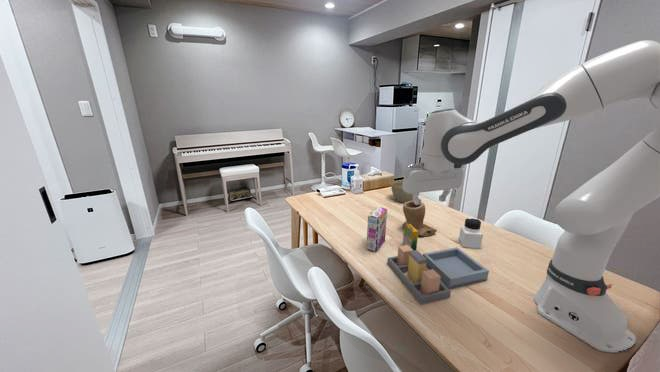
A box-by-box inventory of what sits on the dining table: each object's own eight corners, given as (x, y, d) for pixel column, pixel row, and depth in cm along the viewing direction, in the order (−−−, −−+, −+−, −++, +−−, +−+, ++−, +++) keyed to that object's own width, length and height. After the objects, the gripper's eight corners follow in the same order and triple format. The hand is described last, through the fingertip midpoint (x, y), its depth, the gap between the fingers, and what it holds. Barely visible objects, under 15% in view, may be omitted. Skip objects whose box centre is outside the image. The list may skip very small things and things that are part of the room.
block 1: (411, 268, 102) (413, 250, 100) (402, 269, 101) (403, 251, 99) (405, 262, 106) (407, 244, 103) (397, 263, 105) (398, 246, 102)
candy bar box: (376, 253, 113) (378, 218, 107) (366, 249, 115) (367, 215, 110) (385, 241, 122) (387, 208, 116) (375, 238, 124) (377, 206, 119)
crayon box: (416, 251, 113) (419, 227, 109) (410, 252, 112) (412, 228, 109) (408, 242, 120) (410, 219, 116) (402, 243, 119) (404, 220, 115)
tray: (487, 280, 95) (489, 270, 94) (449, 288, 91) (450, 279, 90) (455, 255, 110) (457, 247, 108) (422, 262, 106) (423, 253, 104)
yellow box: (424, 283, 94) (426, 259, 91) (416, 284, 93) (419, 260, 90) (414, 273, 100) (417, 250, 96) (407, 274, 99) (409, 251, 96)
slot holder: (449, 297, 87) (450, 291, 87) (420, 304, 85) (421, 298, 84) (411, 258, 108) (412, 253, 108) (387, 263, 106) (387, 257, 105)
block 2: (437, 296, 88) (440, 276, 85) (427, 299, 87) (429, 278, 84) (430, 288, 91) (433, 269, 89) (420, 290, 90) (422, 271, 88)
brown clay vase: (395, 228, 133) (397, 200, 128) (412, 222, 139) (414, 195, 134) (420, 241, 121) (423, 211, 116) (437, 234, 127) (440, 205, 122)
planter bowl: (400, 193, 179) (401, 178, 175) (421, 200, 167) (423, 184, 163) (385, 199, 169) (385, 183, 166) (406, 207, 157) (407, 190, 154)
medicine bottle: (480, 248, 114) (485, 224, 110) (462, 247, 116) (466, 222, 112) (475, 240, 121) (479, 216, 117) (458, 239, 122) (462, 215, 118)
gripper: (411, 167, 78) (406, 210, 83) (469, 162, 83) (462, 202, 88) (400, 162, 84) (396, 202, 88) (455, 157, 89) (449, 195, 93)
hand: (429, 202), depth 88 cm, fingers open, 8 cm apart
